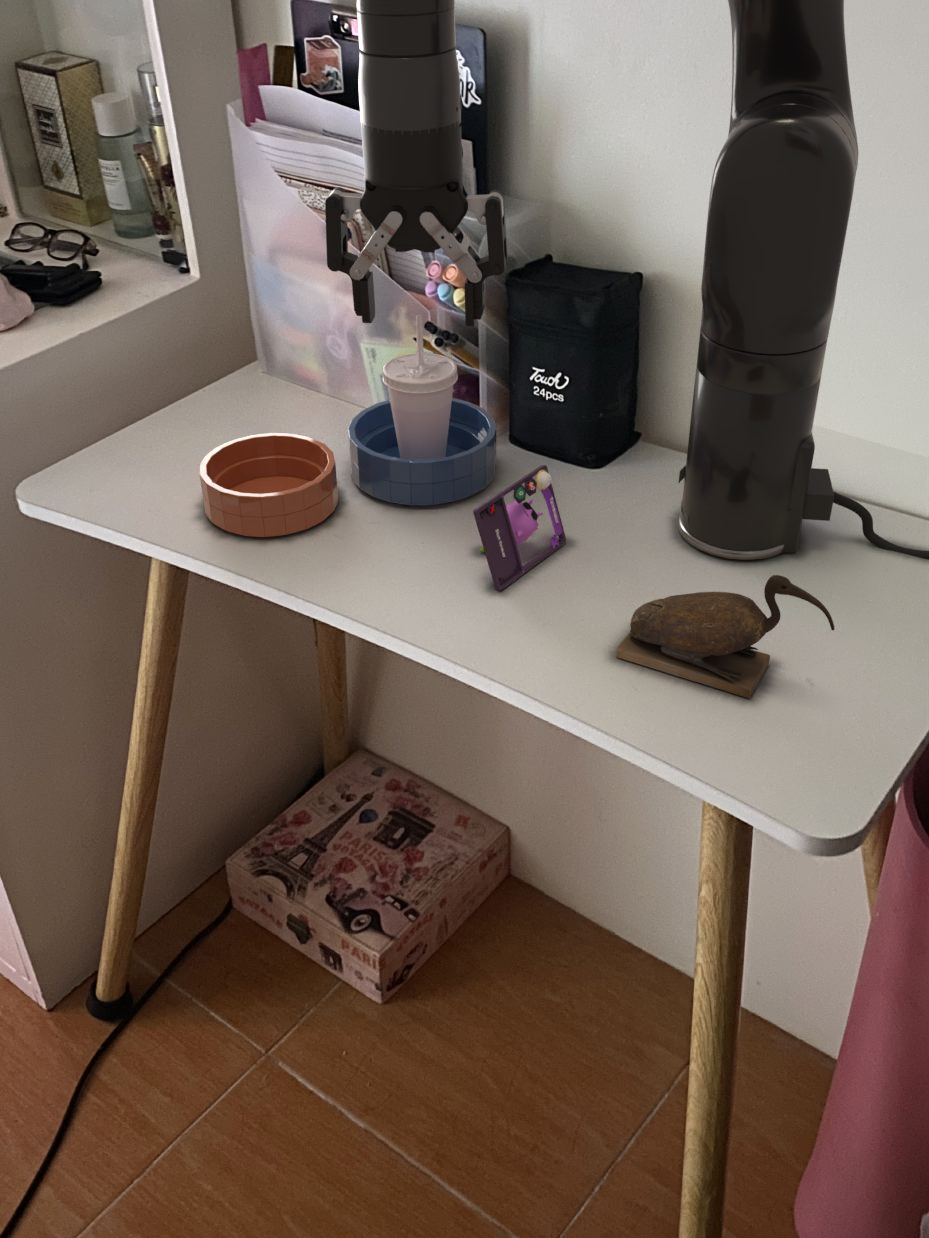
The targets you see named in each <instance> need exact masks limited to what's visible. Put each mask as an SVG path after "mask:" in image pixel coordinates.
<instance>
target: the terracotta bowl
mask: <svg viewBox="0 0 929 1238" xmlns="http://www.w3.org/2000/svg"><path fill="white" fill-rule="evenodd" d="M336 465H337V464H336V459H335V454H334V452H333V451H332V450H331V449H330V447H328V446H327V444H326V443H324V442H321V441H319V440H317V439H315V438H313V437H310V436H306V435H301V434H296V433H285V432H269V433H268V432H267V433H258V434H256V433H255V434H251V435H247V436H242V437H238V438H234V439H231V440H230V441H227V442H225V443H223V444H220V445H218V446H216V447H215V448H214V449H212V450H211V451H210V452H208V453H207V454H206V455H204V458H203V459H202V461H201V462H200V464H199V467H198V468H199V481H200V487H201V494H202V499H203V505H204V507H203V508H204V512H205V515H206V516H207V518H208V519H209V521H210V522H211V524H213V525H215V526H216V527H218V528H220V529H221V530H224V531H226V532H229V533H232V534H236V535H240V536H244V537H255V538H270V537H280V536H286V535H292V534H295V533H298V532H302V531H305V530H308V529H310V528H312V527H314V526H316V525H318V524H320V523H322V522H323V521H325V520H327V518H328V517H329V516H330V515H331V514H332V513H334V512H335V509H336V507H337V504H338V502H339V490H338V479H337V466H336Z"/></svg>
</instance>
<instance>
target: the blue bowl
mask: <svg viewBox="0 0 929 1238" xmlns="http://www.w3.org/2000/svg"><path fill="white" fill-rule="evenodd" d="M347 437H348V451H349V464H350V465H349V466H350V473H351V479H352V481H353V482H354V483H355V485H356V486H357V487H358V489H360V490H361V491H362V492H364V493H366V494H367V495H369V496H371V497H373V498H374V499H375V498H376V499H377V500H378V499H379V500H382V501H385V502H388V503H394V504H400V505H407V506H433V505H434V506H435V505H441V504H447V503H452V502H457V501H460V500H462V499H465V498H468V497H471V496H473V495H475V494H477V493H478V492H480V491H481V490H483V489H485V488H486V487H487V486H488V485H489V484H490V483H491V481H492V480H493V479H494V478H495V475H496V470H497V425H496V422H495V419H494V417H493V415H491V413H489V412H488V411H487V410H485V408H483V407H480V406H479V405H476V404H474V403H472V402H470V401H466V400H463V399H460V398H456V397H452V403H451V412H450V420H449V429H448V438H447V447H446V456H445V457H441V458H435V459H404V458H400V453H399V447H398V442H397V436H396V431H395V425H394V420H393V414H392V409H391V403H390V399H387V400H383V401H380V402H377V403H374V404H372V405H370V406H368V407H367V408H364V409H362V410H361V411H359V412H358V413H357V414H356V415H355V416H354V417H353V418H352V419H351V421H350V423H349V425H348V427H347Z"/></svg>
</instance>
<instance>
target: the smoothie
mask: <svg viewBox="0 0 929 1238" xmlns="http://www.w3.org/2000/svg"><path fill="white" fill-rule="evenodd" d="M423 321H424V320H423V314H421V313H417V314H415V328H416V329H415V335H416V337H415V338H416V352H411V353H405V354H401V355H397V356H395V357H393V358H391V359H389V360H388V361H386V362H385V363H384V364H383V367H382V382H383V385H385V386H386V387H387V392H388V400H390V403H391V409H392V414H393V420H394V425H395V431H396V436H397V442H398V447H399V453H400V458H404V459H435V458H441V457H445V456H446V447H447V438H448V429H449V420H450V412H451V403H452V398H453V395H454V394H453V393H454V385H455V384H456V383H457V381H458V379H459V376H458V375H459V374H458V365H457V363H456V362H455V361H454V360H453V359H451V358H450V357H447V356H445V355H441V354H438V353H432V352H425V351H424V349H425V348H424V322H423Z"/></svg>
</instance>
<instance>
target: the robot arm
mask: <svg viewBox="0 0 929 1238" xmlns="http://www.w3.org/2000/svg"><path fill="white" fill-rule="evenodd" d="M727 2H728V9H729V14H730V24H731V42H732V46H731V47H732V48H731V49H732V54H731V55H732V57H731V59H732V61H731V62H732V65H731V66H732V71H731V103H730V115H729V116H730V119H729V128H728V135H727V139H726V140H725V142H724V144H723V146H722V148H721V149H720V152H719V154H718V157H717V159H716V162H715V165H714V169H713V174H712V178H711V183H710V192H709V199H708V200H709V201H708V208H707V219H706V228H705V229H706V231H705V243H704V254H703V255H704V256H703V263H702V274H701V275H702V276H701V289H700V292H701V293H700V294H701V303H702V307H701V309H702V311H701V320H700V330H699V338H698V339H699V340H698V349H697V357H696V368H695V376H694V377H695V378H694V386H693V395H692V405H691V413H690V422H689V433H688V442H687V449H686V450H687V451H686V461H685V465H684V466H683V468H681V469H680V470H679V473H678V483H677V484H678V485H679V484H680V483H681V482H682V481H683V489H682V491H683V492H682V498H681V503H680V512H679V515H678V526H677V527H678V530H679V533H680V535H681V536H682V537H683V539H684V540H685V541H686V542H687V543H688V544H690V545H691V546H693V547H694V548H696V549H698V550H700V551H702V552H704V553H706V554H708V555H712V556H716V557H720V558H724V559H730V560H740V561H741V560H743V561H753V560H761V559H768V558H771V557H774V556H777V555H779V554H782V553H794V554H795V553H797V552H798V548H799V542H800V536H801V530H802V524H803V520H805V521H806V520H807V521H808V520H809V521H827V522H830V521H831V516H832V511H833V504H835V505H838V506H840V507H843V508H845V509H847V510H849V511H851V512H853V513H855V514H856V515H857V516H858V518H860V519H861V524H862V533H863V536H864V538H865V539H866V540H867V541H868V542H870V543H871V544H872V545H874V547H875V546H876V547H877V548H879V549H883V550H886V551H890V552H895V553H899V554H903V555H908V556H911V557H916V558H920V559H924V560H929V550H923V549H922V550H921V549H914V548H909V547H904V546H901V545H897V544H895V543H893V542H891V541H888V540H886V539H885V538H883V537H882V536H880V535H879V534H878V533H876V532H875V530H874V519H873V517H872V514H871V512H870V511H869V510H868V509H867V508H866V507H865V506H864V505H862V504H861V503H859V502H858V501H857V500H854V499H852V498H850V497H848V496H845V495H843V494H841V493H838V492H836V491H834V488H833V485H832V480H831V476H830V471H829V469H828V468H813V461H814V455H815V449H816V445H815V439H814V435H813V427H814V421H815V415H816V410H817V403H818V398H819V392H820V387H821V386H820V385H821V381H822V380H821V379H822V373H823V368H824V362H825V357H826V351H827V345H828V338H829V335H830V329H831V324H832V319H833V313H834V309H835V303H836V296H837V290H838V289H837V288H838V281H839V276H840V271H841V265H842V260H843V259H842V258H843V254H844V247H845V242H846V237H847V231H848V225H849V218H850V213H851V208H852V201H853V196H854V195H853V194H854V190H855V189H854V188H855V182H856V176H857V170H858V165H859V143H858V136H857V135H858V134H857V130H856V125H855V118H854V109H853V102H852V95H851V85H850V78H849V66H848V56H847V44H846V31H845V0H727ZM355 3H356V4H355V6H356V7H355V8H356V23H357V37H358V39H357V40H358V48H359V51H358V53H359V54H358V57H359V59H358V60H359V61H358V76H357V78H358V79H357V84H358V87H357V88H358V89H357V90H358V103H359V115H360V116H359V118H360V132H361V145H362V147H361V148H362V160H363V161H362V163H363V173H364V190H363V192H362V193H358V192H357V193H356V192H355V193H354V192H347V191H346V190H345V189H344V188H343V187H340V186H337V187H335V188H334V189H333V190H332V191H331V192H330V194H328V196H327V198H326V199H325V201H324V207H325V208H324V210H325V213H324V214H325V240H326V241H325V243H326V244H325V246H326V266H327V268H328V269H329V270H330V271H331V272H333V273H334V272H340V273H343V274H346V275H348V277H349V278H350V280H351V288H352V290H351V291H352V300H353V302H352V303H353V311H354V314H355V315H356V316H357V317H361V321H362V324H372V323H373V321H374V319H375V318H376V299H375V298H376V297H375V285H374V272H373V271H370V269H371V267H372V265H373V264H374V263H375V261H376V260H377V259H378V258H379V256H380V255H381V253H382V252H383V250H384V249H385V247H386V246H388V247H389V248H391V249H393V250H395V253H400V252H401V253H406V252H409V251H415V250H416V251H419V252H422V253H435V252H436V251H437V250H439V249H441V250H442V251H443V252H444V254H445V255H446V256H447V257H448V259H449V260H450V261H451V262H452V263H454V264H456V265H457V267H458V268H459V269H460V271H461V272H462V273H463V275H464V277H466V278H465V281H464V316H465V317H464V318H465V319H464V320H465V321H464V322H465V323H464V324H465V327H475V326H476V323H477V320H479V321H480V320H481V319H482V317H483V314H484V311H485V308H486V301H485V300H486V298H485V297H486V296H485V293H486V292H485V284H486V283H485V280H486V279H487V278H489V277H493V276H501V275H503V274H504V273H505V269H506V264H507V262H508V260H509V259H508V258H509V257H508V242H507V239H508V238H507V227H506V225H507V224H506V211H505V209H506V208H505V196H504V194H503V192H502V191H501V190H499V189H492V190H491V191H490V192H489V194H488V193H487V194H471V195H470V194H469V193H468V192H467V191H466V188H465V186H464V181H463V148H462V147H463V145H462V142H463V141H462V110H463V97H462V94H461V77H460V70H459V65H458V58H457V57H458V56H457V47H456V44H457V42H456V41H457V39H456V38H457V37H456V7H455V0H355ZM357 210H360V211H361V213H362V215H363V216H364V217H365V219H366V220H367V221H368V222H369V223H370V225H371V226H372V227H373V229H374V230H375V231H374V232H373V233H372V235H371V237H369V240H368V241H367V242H366V244H365V245H364V247H363V248H362V249H361V250H360V251H361V252H359V254H358V255H357V254H354V253H352V252H349V239H348V237H349V236H348V235H349V234H348V231H349V230H348V223H350V222H351V221H352V220H353V218H354V217H355V215H356V211H357ZM468 212H472V213H473V214H474V215H475V218H476V220H477V222H478V223H479V224H480V225H482V226H485V228H486V240H487V255H486V256H483V257H482V256H481V255H480V253H479V252H478V251H477V249H476V248H475V247H474V246H473V244H472V241H471V239H470V238H469V236H468V235H467V233H466V232H465V231H464V230H463V228H462V227H461V225H460V224H461V222H462V221H463V219H464V218H465V217H466V216H467V214H468Z"/></svg>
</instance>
